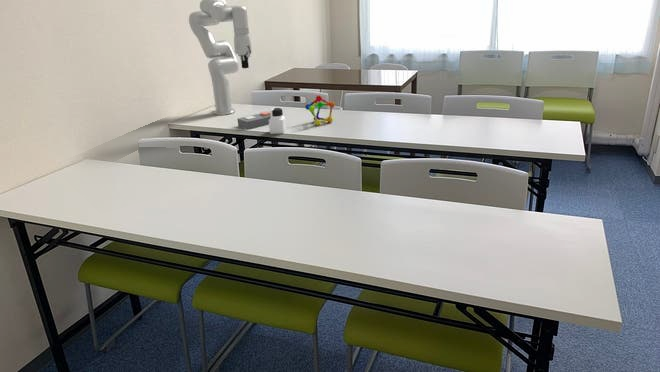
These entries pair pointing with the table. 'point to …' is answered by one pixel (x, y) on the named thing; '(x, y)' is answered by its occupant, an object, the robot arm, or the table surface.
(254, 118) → the grey button
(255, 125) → the console
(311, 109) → the educational toy
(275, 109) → the medicine bottle
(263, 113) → the terracotta button
